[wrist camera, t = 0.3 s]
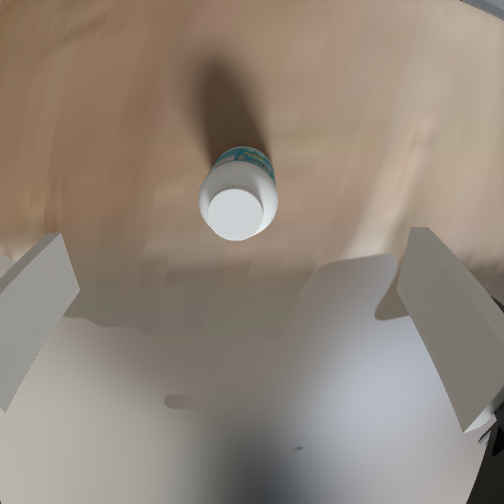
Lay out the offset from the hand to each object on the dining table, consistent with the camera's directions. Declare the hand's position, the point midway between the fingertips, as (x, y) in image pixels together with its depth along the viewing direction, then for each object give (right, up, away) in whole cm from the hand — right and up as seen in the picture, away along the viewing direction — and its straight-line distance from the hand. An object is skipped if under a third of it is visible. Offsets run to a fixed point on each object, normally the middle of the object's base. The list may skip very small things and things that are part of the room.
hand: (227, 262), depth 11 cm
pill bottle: (0, +10, +27) cm, 28 cm away
